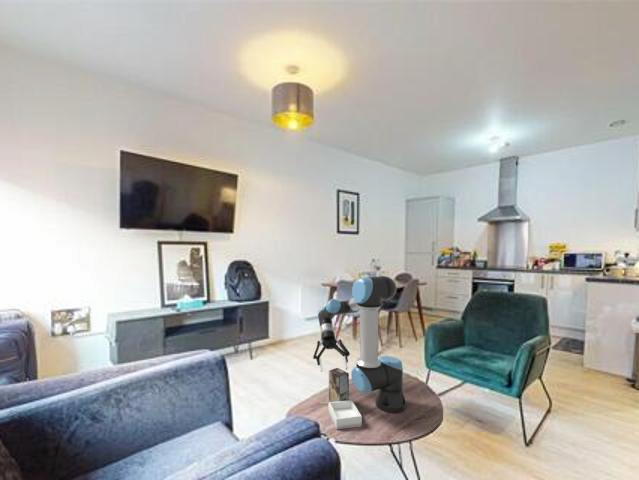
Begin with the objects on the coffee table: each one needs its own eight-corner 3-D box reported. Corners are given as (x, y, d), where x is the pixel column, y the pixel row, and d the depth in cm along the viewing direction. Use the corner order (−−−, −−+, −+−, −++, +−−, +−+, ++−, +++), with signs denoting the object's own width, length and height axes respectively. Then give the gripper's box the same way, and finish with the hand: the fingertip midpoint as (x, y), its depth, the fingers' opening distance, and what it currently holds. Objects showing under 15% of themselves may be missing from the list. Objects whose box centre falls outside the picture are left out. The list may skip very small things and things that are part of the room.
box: (351, 408, 156) (351, 399, 156) (361, 426, 141) (361, 416, 141) (328, 411, 153) (328, 402, 153) (336, 429, 139) (336, 419, 139)
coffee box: (349, 405, 159) (349, 373, 159) (339, 409, 155) (339, 376, 155) (337, 398, 166) (337, 367, 166) (328, 401, 163) (328, 370, 162)
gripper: (347, 335, 188) (355, 370, 174) (305, 337, 183) (310, 374, 168) (349, 328, 183) (358, 364, 168) (306, 331, 178) (311, 368, 163)
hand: (334, 369), depth 168 cm, fingers open, 13 cm apart
